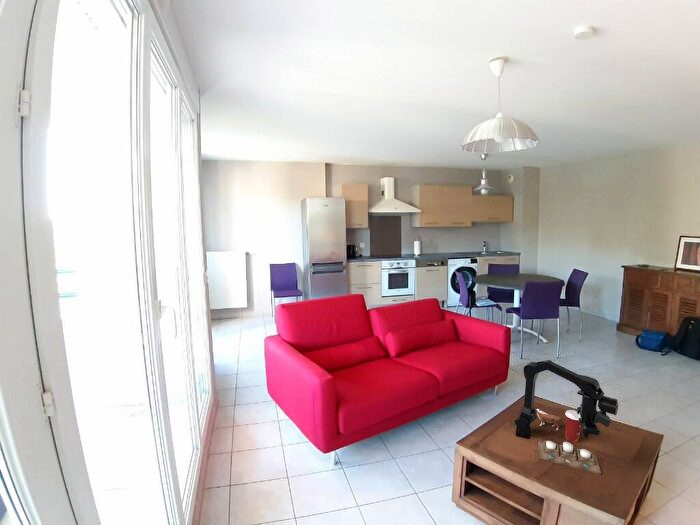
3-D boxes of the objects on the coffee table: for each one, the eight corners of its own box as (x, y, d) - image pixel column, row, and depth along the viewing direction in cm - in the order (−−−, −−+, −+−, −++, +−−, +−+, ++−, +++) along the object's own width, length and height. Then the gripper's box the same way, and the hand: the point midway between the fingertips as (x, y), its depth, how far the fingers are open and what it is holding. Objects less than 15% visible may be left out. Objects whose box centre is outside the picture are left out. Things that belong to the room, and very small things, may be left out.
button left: (546, 451, 166) (546, 444, 166) (545, 446, 170) (545, 439, 169) (555, 454, 165) (556, 447, 164) (554, 449, 168) (555, 442, 168)
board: (539, 458, 163) (539, 451, 163) (538, 443, 174) (538, 437, 174) (600, 474, 153) (601, 467, 153) (595, 457, 164) (596, 451, 163)
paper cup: (583, 444, 173) (586, 418, 172) (566, 442, 175) (569, 416, 173) (576, 435, 181) (579, 410, 179) (560, 433, 182) (562, 408, 181)
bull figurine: (533, 419, 195) (534, 406, 193) (561, 428, 187) (562, 414, 186) (532, 423, 191) (533, 409, 190) (560, 432, 183) (561, 418, 182)
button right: (580, 460, 160) (581, 453, 160) (579, 455, 164) (579, 448, 163) (590, 462, 159) (591, 455, 158) (589, 457, 162) (589, 450, 162)
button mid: (563, 452, 163) (563, 445, 163) (562, 447, 167) (562, 441, 166) (573, 455, 161) (573, 448, 161) (571, 450, 165) (572, 443, 165)
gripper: (615, 421, 146) (612, 454, 148) (605, 400, 163) (602, 430, 165) (584, 414, 151) (581, 447, 153) (577, 395, 168) (575, 424, 170)
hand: (585, 437), depth 160 cm, fingers closed
